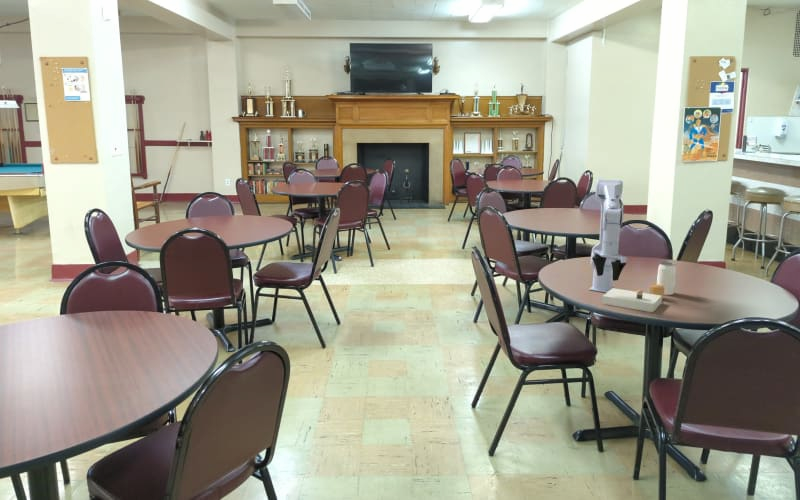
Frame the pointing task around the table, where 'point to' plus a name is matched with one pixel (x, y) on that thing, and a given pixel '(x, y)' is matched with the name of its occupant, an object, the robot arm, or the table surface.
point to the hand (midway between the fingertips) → (607, 277)
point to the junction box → (632, 299)
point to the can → (667, 277)
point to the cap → (657, 290)
